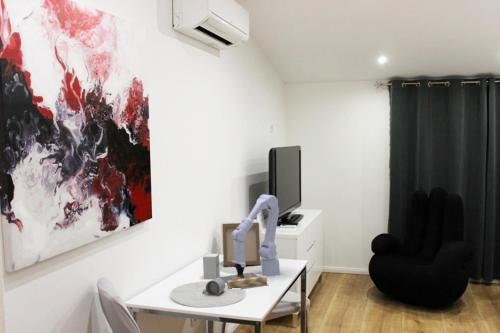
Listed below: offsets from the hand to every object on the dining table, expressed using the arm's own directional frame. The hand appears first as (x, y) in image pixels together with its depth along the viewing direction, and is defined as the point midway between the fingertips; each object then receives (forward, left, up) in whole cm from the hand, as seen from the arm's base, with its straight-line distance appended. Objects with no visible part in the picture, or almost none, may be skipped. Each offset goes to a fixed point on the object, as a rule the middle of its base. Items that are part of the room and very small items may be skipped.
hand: (240, 277), depth 254 cm
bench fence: (0, +11, -1) cm, 11 cm away
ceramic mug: (+19, +16, -2) cm, 25 cm away
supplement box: (+13, -12, -2) cm, 18 cm away
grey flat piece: (0, +4, -1) cm, 5 cm away
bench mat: (0, +3, -2) cm, 4 cm away
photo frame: (-11, -34, -2) cm, 36 cm away
